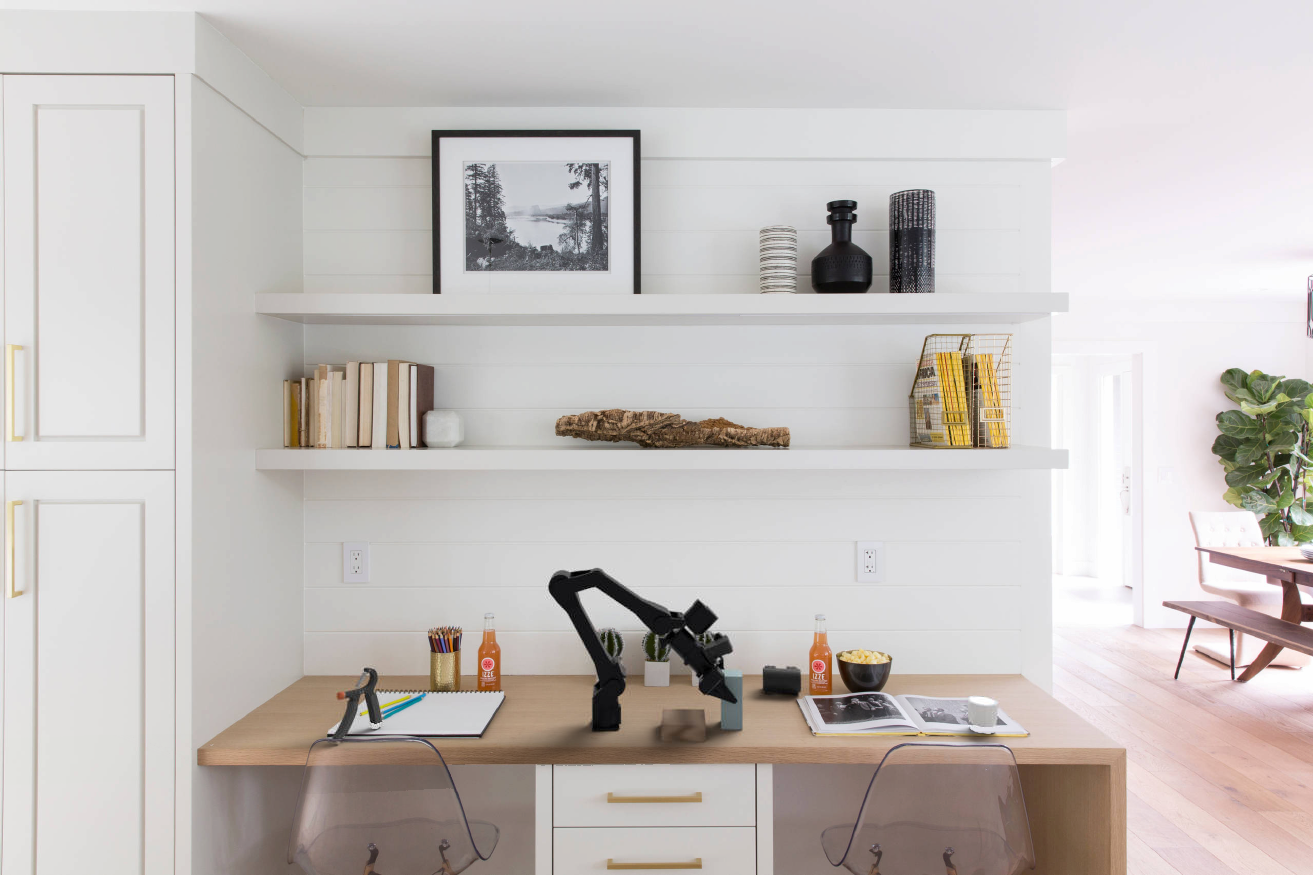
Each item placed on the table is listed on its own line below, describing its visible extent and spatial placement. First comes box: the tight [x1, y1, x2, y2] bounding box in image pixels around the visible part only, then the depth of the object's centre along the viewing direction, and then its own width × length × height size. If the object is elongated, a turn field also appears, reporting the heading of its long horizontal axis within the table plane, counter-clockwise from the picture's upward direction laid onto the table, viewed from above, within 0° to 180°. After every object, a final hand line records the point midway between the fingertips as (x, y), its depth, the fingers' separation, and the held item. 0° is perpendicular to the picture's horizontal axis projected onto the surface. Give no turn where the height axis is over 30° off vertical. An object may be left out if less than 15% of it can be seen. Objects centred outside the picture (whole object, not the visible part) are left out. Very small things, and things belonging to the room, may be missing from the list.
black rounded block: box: [762, 665, 802, 695], centre depth 202 cm, size 10×7×7 cm
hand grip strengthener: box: [332, 667, 383, 739], centre depth 173 cm, size 2×12×15 cm, turn 149°
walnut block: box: [660, 708, 707, 743], centre depth 175 cm, size 10×10×4 cm
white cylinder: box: [966, 695, 999, 727], centre depth 177 cm, size 7×7×7 cm
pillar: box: [720, 669, 744, 731], centre depth 179 cm, size 5×5×12 cm
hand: (735, 695), depth 179 cm, fingers open, 9 cm apart
